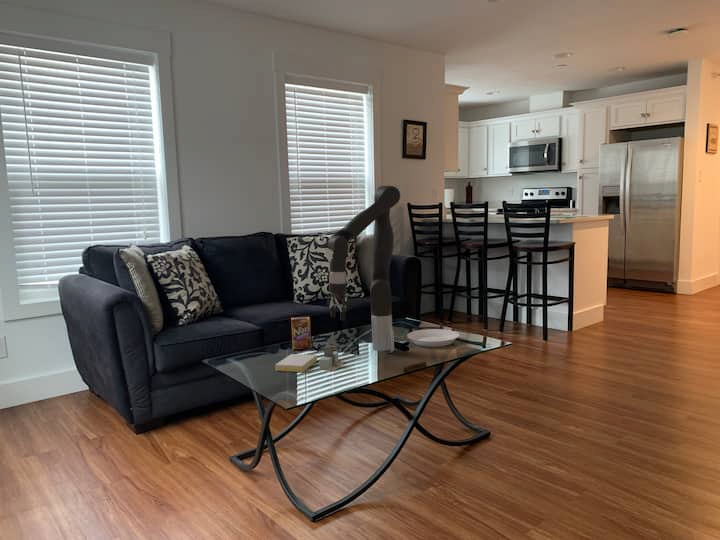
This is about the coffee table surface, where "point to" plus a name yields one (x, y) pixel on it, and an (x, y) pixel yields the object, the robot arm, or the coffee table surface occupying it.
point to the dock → (296, 363)
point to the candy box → (301, 332)
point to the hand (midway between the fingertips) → (337, 318)
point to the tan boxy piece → (329, 353)
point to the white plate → (433, 337)
